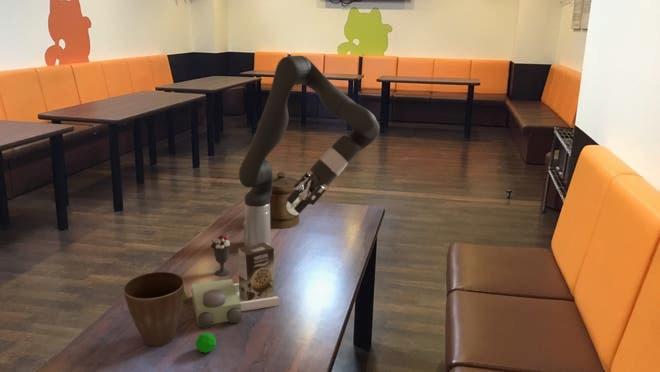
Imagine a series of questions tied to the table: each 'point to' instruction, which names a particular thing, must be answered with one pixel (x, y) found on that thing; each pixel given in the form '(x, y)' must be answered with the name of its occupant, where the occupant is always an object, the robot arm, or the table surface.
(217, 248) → the sundae
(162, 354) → the table surface
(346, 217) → the table surface
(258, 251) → the coffee box
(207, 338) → the polyhedron
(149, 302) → the plant pot
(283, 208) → the wooden container
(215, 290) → the toy front loader
